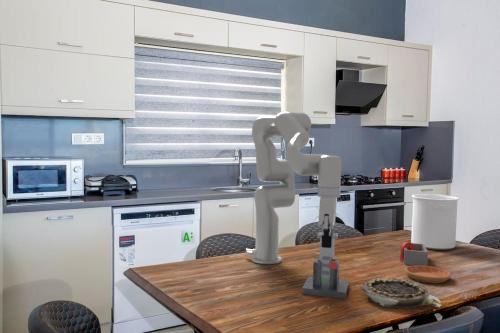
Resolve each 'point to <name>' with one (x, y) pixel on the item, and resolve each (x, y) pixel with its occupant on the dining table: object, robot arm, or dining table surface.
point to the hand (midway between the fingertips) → (327, 245)
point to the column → (326, 259)
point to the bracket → (405, 245)
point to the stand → (335, 287)
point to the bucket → (434, 221)
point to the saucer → (427, 274)
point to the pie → (398, 293)
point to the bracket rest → (416, 255)
